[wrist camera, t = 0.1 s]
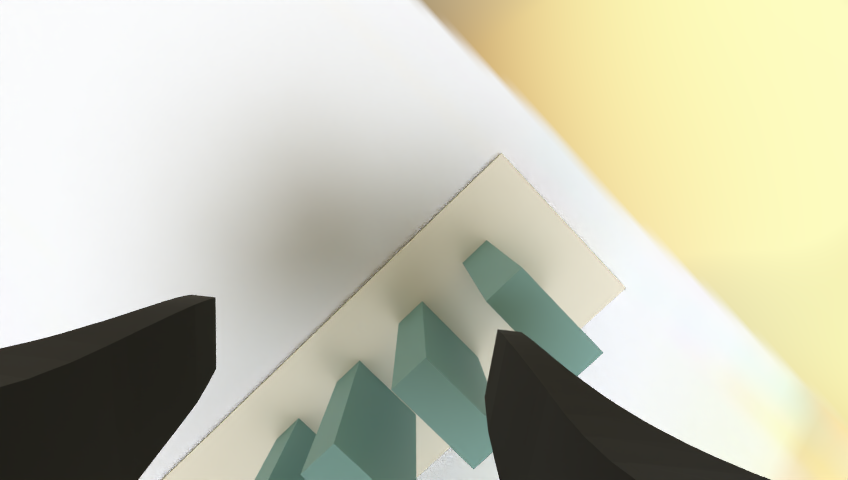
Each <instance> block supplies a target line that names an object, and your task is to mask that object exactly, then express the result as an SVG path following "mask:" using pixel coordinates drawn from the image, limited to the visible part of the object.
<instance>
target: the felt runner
mask: <svg viewBox="0 0 848 480" xmlns="http://www.w3.org/2000/svg"><path fill="white" fill-rule="evenodd" d="M486 240H487V241H488V242H490V243H491V244H492V245H494V246H495V247H496V248H497V249H499V250H500V251H501V252H503V253H504V254H505V255H507V256H508V257H509V258H510V259H512V260H513V261H514V262H516V263H517V264H518V265H520V266H521V267H522V268H523V269H524V270H525V271H526V272H527V273H528V274H529V275H530V276H531V277H532V278H533V279H534V280H535V282H536V283H537V284H538V285H539V286H540V287H541V288H542V289H543V290H544V291H545V292H546V293H547V294H548V295H549V296H550V297H551V298H552V299H553V300H554V301H555V303H556V304H557V305H558V306H559V307H560V308H561V309H562V310H563V311H564V312H565V313H566V314H567V315H568V316H569V317H570V318H571V319H572V320H573V321H574V323H575V324H576V325H577V326H578V327H579V328H580V329H581V328H582V327H583V326H584V325H586V324H587V323H588V322H589V321H590V320H591V319H592V318H593V317H594V316H595V315H597V314H598V313H599V312H600V311H601V310H602V309H603V308H604V307H605V306H606V305H608V304H609V303H610V302H611V301H612V300H613V299H614V298H615V297H616V296H617V295H619V294H620V293H621V292H622V291H623V290H624V289H625V287H624V286H623V285H622V283H621V282H620V281H619V280H618V279H617V278H616V277H615V276H614V275H613V274H612V273H611V271H610V270H609V269H608V268H607V267H606V266H605V265H604V264H603V263H602V262H601V261H600V260H599V258H598V257H597V256H596V255H595V254H594V253H593V252H592V251H591V250H590V249H589V248H588V247H587V245H586V244H585V243H584V242H583V241H582V240H581V239H580V238H579V237H578V236H577V235H576V234H575V232H574V231H573V230H572V229H571V228H570V227H569V226H568V225H567V224H566V223H565V222H564V221H563V219H562V218H561V217H560V216H559V215H558V214H557V213H556V212H555V211H554V210H553V209H552V208H551V206H550V205H549V204H548V203H547V202H546V201H545V200H544V199H543V198H542V197H541V196H540V194H539V193H538V192H537V191H536V190H535V189H534V188H533V187H532V186H531V185H530V184H529V183H528V181H527V180H526V179H525V178H524V177H523V176H522V175H521V174H520V173H519V172H518V171H517V170H516V168H515V167H514V166H513V165H512V164H511V163H510V162H509V161H508V160H507V159H506V158H505V157H504V155H503V154H500V155H499V156H498V157H497V158H496V159H495V160H494V161H493V162H492V163H491V164H489V165H488V166H487V167H486V168H485V169H484V170H483V171H482V172H481V173H480V174H479V175H478V176H477V177H476V178H475V179H474V180H473V181H472V182H471V183H470V184H469V185H468V186H467V187H466V188H465V189H464V190H463V191H461V192H460V193H459V194H458V195H457V196H456V197H455V198H454V199H453V200H452V201H451V202H450V203H449V204H448V205H447V206H446V207H445V208H444V209H443V210H442V211H441V212H440V213H439V214H438V215H437V216H436V217H434V218H433V219H432V220H431V221H430V222H429V223H428V224H427V225H426V226H425V227H424V228H423V229H422V230H421V231H420V232H419V233H418V234H417V235H416V236H415V237H414V238H413V239H412V240H411V241H410V242H409V243H407V244H406V245H405V246H404V247H403V248H402V249H401V250H400V251H399V252H398V253H397V254H396V255H395V256H394V257H393V258H392V259H391V260H390V261H389V262H388V263H387V264H386V265H385V266H384V267H383V268H382V269H381V270H379V271H378V272H377V273H376V274H375V275H374V276H373V277H372V278H371V279H370V280H369V281H368V282H367V283H366V284H365V285H364V286H363V287H362V288H361V289H360V290H359V291H358V292H357V293H356V294H355V295H354V296H352V297H351V298H350V299H349V300H348V301H347V302H346V303H345V304H344V305H343V306H342V307H341V308H340V309H339V310H338V311H337V312H336V313H335V314H334V315H333V316H332V317H331V318H330V319H329V320H328V321H327V322H325V323H324V324H323V325H322V326H321V327H320V328H319V329H318V330H317V331H316V332H315V333H314V334H313V335H312V336H311V337H310V338H309V339H308V340H307V341H306V342H305V343H304V344H303V345H302V346H301V347H300V348H299V349H297V350H296V351H295V352H294V353H293V354H292V355H291V356H290V357H289V358H288V359H287V360H286V361H285V362H284V363H283V364H282V365H281V366H280V367H279V368H278V369H277V370H276V371H275V372H274V373H273V374H272V375H270V376H269V377H268V378H267V379H266V380H265V381H264V382H263V383H262V384H261V385H260V386H259V387H258V388H257V389H256V390H255V391H254V392H253V393H252V394H251V395H250V396H249V397H248V398H247V399H246V400H245V401H243V402H242V403H241V404H240V405H239V406H238V407H237V408H236V409H235V410H234V411H233V412H232V413H231V414H230V415H229V416H228V417H227V418H226V419H225V420H224V421H223V422H222V423H221V424H220V425H219V426H218V427H217V428H215V429H214V430H213V431H212V432H211V433H210V434H209V435H208V436H207V437H206V438H205V439H204V440H203V441H202V442H201V443H200V444H199V445H198V446H197V447H196V448H195V449H194V450H193V451H192V452H191V453H190V454H188V455H187V456H186V457H185V458H184V459H183V460H182V461H181V462H180V463H179V464H178V465H177V466H176V467H175V468H174V469H173V470H172V471H171V472H170V473H169V474H168V475H167V476H166V477H165V478H164V479H163V480H255V478H256V476H257V474H258V472H259V471H260V469H261V467H262V465H263V463H264V461H265V459H266V458H267V456H268V454H269V452H270V450H271V448H272V447H273V445H274V443H275V441H276V439H277V438H278V437H279V436H280V435H281V434H282V433H283V432H285V431H286V430H287V429H288V428H289V427H290V426H291V425H292V424H293V423H294V422H295V421H296V420H297V419H298V418H299V419H300V420H301V421H302V422H304V423H305V424H306V425H307V426H308V427H309V428H310V429H311V430H312V431H313V432H314V433H315V434H317V431H318V429H319V426H320V423H321V421H322V418H323V416H324V413H325V411H326V408H327V406H328V403H329V400H330V398H331V395H332V393H333V390H334V388H335V385H336V383H337V381H338V380H339V379H340V378H342V377H343V376H344V375H345V374H346V373H347V372H348V371H349V370H350V369H351V368H352V367H353V366H354V365H355V364H356V363H357V362H358V361H359V360H360V361H361V362H362V363H363V364H364V365H365V366H366V367H367V368H368V369H369V370H370V371H371V372H372V373H373V374H374V375H375V376H376V377H377V378H378V379H379V380H380V381H381V382H383V383H384V384H385V385H386V386H387V387H388V388H389V389H390V390H391V387H392V378H393V369H394V361H395V352H396V343H397V334H398V325H399V323H400V322H401V321H402V320H403V319H404V318H405V317H406V316H407V315H408V314H409V313H410V312H411V311H412V310H413V309H414V308H415V307H416V306H418V305H419V304H420V303H421V302H422V301H423V302H424V303H425V305H426V306H427V307H428V308H429V309H430V310H431V311H432V312H433V313H434V314H435V315H436V316H437V317H438V318H439V319H440V320H441V321H442V322H443V323H444V324H445V325H446V326H447V327H448V328H449V329H450V330H451V331H452V332H453V333H454V334H455V335H456V336H457V337H458V338H459V339H460V340H461V341H462V342H463V343H464V344H465V345H466V346H467V347H468V348H469V349H470V350H471V351H472V352H473V353H474V354H475V355H476V356H477V357H478V358H479V361H480V364H481V366H482V369H483V372H484V375H485V377H486V380H487V381H488V376H489V371H490V366H491V360H492V355H493V350H494V345H495V339H496V334H497V329H500V330H509V331H514V330H513V329H512V328H511V327H510V326H509V325H508V324H507V323H506V322H505V321H504V319H503V318H502V317H501V316H500V315H499V314H498V313H497V312H496V311H495V310H494V309H493V308H492V307H491V306H490V305H489V304H488V303H487V302H486V301H485V299H484V297H483V296H482V294H481V293H480V291H479V289H478V288H477V286H476V284H475V283H474V281H473V280H472V278H471V276H470V275H469V273H468V271H467V270H466V268H465V267H464V265H463V262H464V261H465V260H466V259H467V258H468V257H469V256H470V255H471V254H472V253H474V252H475V251H476V250H477V249H478V248H479V247H480V246H481V245H482V244H483V243H484V242H485V241H486ZM391 391H392V390H391ZM392 392H393V391H392ZM393 393H394V392H393ZM394 394H395V393H394ZM395 395H396V394H395ZM396 396H397V395H396ZM397 397H398V396H397ZM398 398H399V397H398ZM399 399H400V398H399ZM400 400H401V399H400ZM401 401H402V400H401ZM402 402H403V401H402ZM403 403H404V402H403ZM404 404H405V403H404ZM405 405H406V404H405ZM406 406H407V405H406ZM407 407H408V406H407ZM410 409H411V408H410ZM411 410H412V409H411ZM412 411H413V410H412ZM413 412H414V411H413ZM414 413H415V412H414ZM415 414H416V413H415ZM449 448H450V446H449V445H448V444H447V443H446V442H445V441H444V440H443V439H442V438H441V437H440V436H439V435H438V434H437V433H435V432H434V431H433V430H432V429H431V428H430V427H429V426H428V425H427V424H426V423H425V422H424V421H423V420H422V419H421V418H420V417H419V416H418V415H417V414H416V478H417V477H418V476H419V475H420V474H421V473H423V472H424V471H425V470H426V469H427V468H428V467H429V466H430V465H431V464H432V463H434V462H435V461H436V460H437V459H438V458H439V457H440V456H441V455H442V454H443V453H445V452H446V451H447V450H448V449H449Z"/></svg>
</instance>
